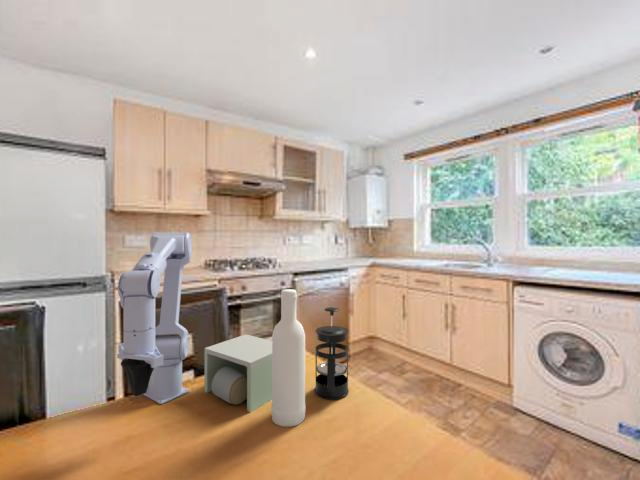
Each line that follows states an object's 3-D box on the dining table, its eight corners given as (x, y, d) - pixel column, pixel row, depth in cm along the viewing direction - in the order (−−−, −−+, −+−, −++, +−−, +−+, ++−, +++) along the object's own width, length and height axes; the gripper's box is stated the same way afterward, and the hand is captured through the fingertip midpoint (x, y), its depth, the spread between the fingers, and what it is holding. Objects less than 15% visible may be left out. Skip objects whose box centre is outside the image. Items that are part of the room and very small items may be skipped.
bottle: (268, 427, 69) (269, 293, 69) (274, 408, 77) (274, 287, 77) (304, 427, 69) (304, 293, 69) (306, 408, 77) (306, 287, 77)
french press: (316, 381, 91) (316, 303, 91) (348, 382, 91) (348, 304, 91) (312, 402, 80) (312, 313, 80) (349, 404, 79) (349, 314, 79)
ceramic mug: (230, 411, 76) (230, 379, 76) (210, 400, 81) (210, 371, 81) (262, 394, 84) (263, 366, 84) (243, 386, 89) (243, 359, 89)
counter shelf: (204, 391, 85) (204, 348, 85) (245, 372, 98) (245, 334, 98) (250, 412, 75) (250, 362, 75) (290, 387, 88) (290, 345, 88)
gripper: (102, 327, 65) (102, 391, 65) (137, 339, 57) (137, 413, 57) (137, 319, 71) (137, 379, 71) (173, 330, 63) (173, 397, 63)
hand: (139, 393), depth 64 cm, fingers closed
